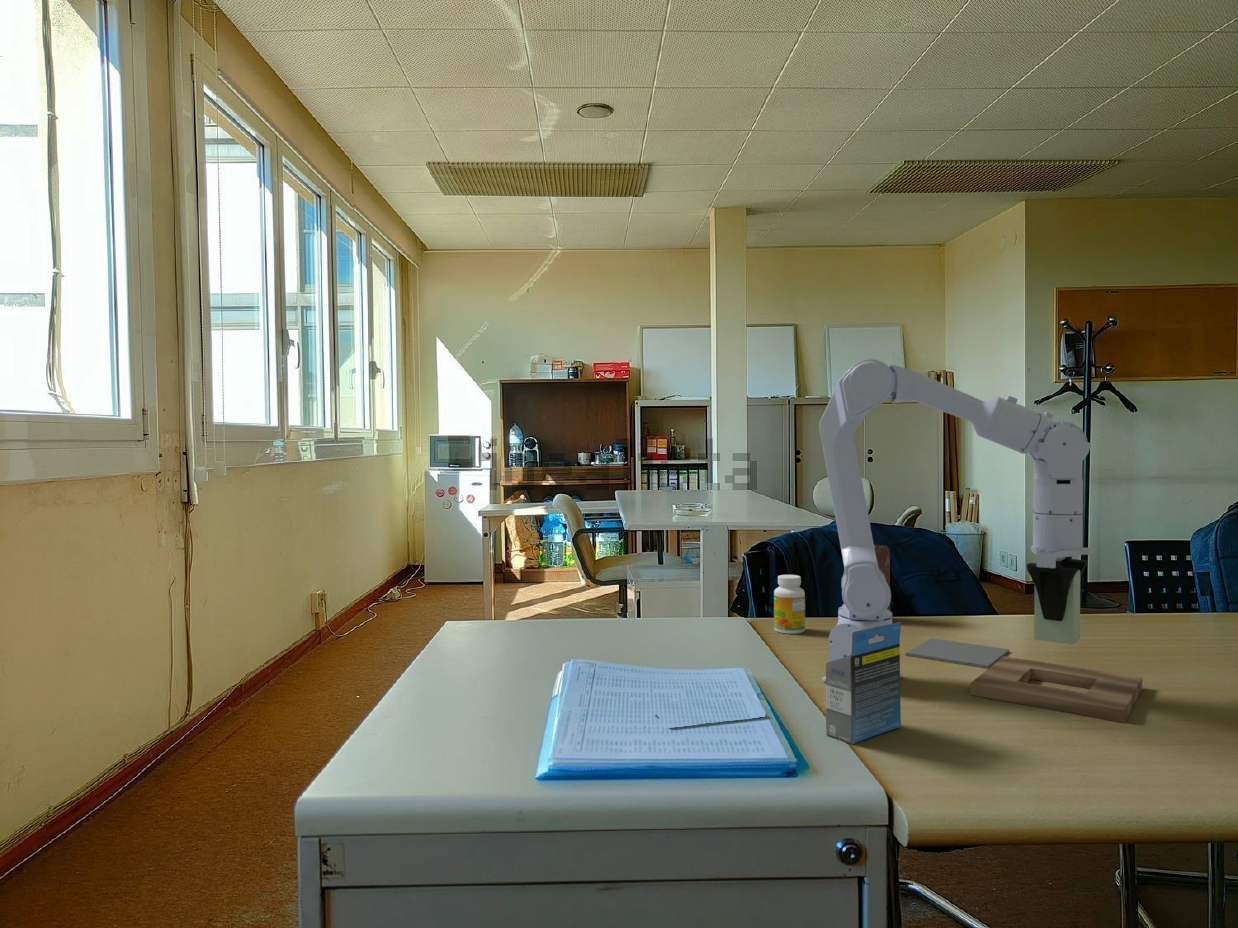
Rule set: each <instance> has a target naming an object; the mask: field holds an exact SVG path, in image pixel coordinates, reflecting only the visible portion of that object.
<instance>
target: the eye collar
mask: <svg viewBox="0 0 1238 928" xmlns="http://www.w3.org/2000/svg"><path fill="white" fill-rule="evenodd" d="M1030 680H1035V681H1039V682H1045V683H1046V682H1048V683H1053V684H1059V685H1065V686H1072V687H1076V688H1077V687H1079V688H1084V689H1088V691H1087V692H1082V691H1077V690H1068V689H1063V688H1057V687H1052V686H1051V687H1050V686H1047V685H1046V686H1045V685H1040V684H1034V683H1033V684H1032V683H1028V682H1029V681H1030ZM969 688H970V689H969V693H970V694H969V695H970V696H976V697H982V698H987V699H993V700H998V701H1004V702H1009V703H1015V704H1021V705H1026V706H1031V707H1036V708H1041V709H1046V710H1051V711H1052V710H1053V711H1058V712H1064V713H1069V714H1074V715H1079V716H1080V715H1081V716H1085V717H1091V718H1096V719H1101V720H1106V721H1113V722H1118V723H1123V724H1124V723H1126V721H1127V719H1128V717H1129V715H1130V714H1131V713H1130V712H1131V711H1132V709H1133V707H1134V705H1135V703H1136V701H1137V699H1138V698H1139V695H1140V694H1141V691H1142V690H1143V676H1138V675H1133V674H1131V675H1130V674H1127V673H1126V674H1124V673H1118V672H1112V671H1105V670H1100V669H1099V670H1096V669H1091V668H1084V667H1078V666H1071V665H1064V664H1058V663H1052V662H1051V663H1050V662H1045V661H1037V660H1033V659H1031V660H1030V659H1025V658H1024V659H1023V658H1018V657H1012V656H1006V655H1005V656H1003V657H1002V658H1001V659H1000V660H998V661H997V662H996V663H995V664H993V665H992V666H991V667H990V668H986V670H985V671H984V672H982V673H981V674H980V675H979V676H977V677H976V678H974V680H972V681H970V683H969Z"/></svg>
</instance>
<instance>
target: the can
mask: <svg viewBox="0 0 1238 928" xmlns="http://www.w3.org/2000/svg"><path fill="white" fill-rule="evenodd" d="M874 548H875V553H876V558H877V562H878V568H879V569H880V570H881V571H882V573H883V574H884V576H885V578H886V582H887V584H888V585H889V588H890V589H891V571H890V570H891V558H890V557H891V550H890V549H889V546H887V545H881V544H874ZM887 610H889V611H891V603H890V604H889V606H888V608H887Z"/></svg>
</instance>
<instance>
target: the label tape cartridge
mask: <svg viewBox="0 0 1238 928" xmlns="http://www.w3.org/2000/svg"><path fill="white" fill-rule="evenodd" d="M901 627H902V623H901V621H897V622H894V623H893V622H892V624H889V625H884V626H879V627H875V628H870V629H866V630H861V631H856V632H853V633H852V654H851V655H849V656H846V657H843V658H839V659H836V660H833V661H829V660H828V661H826V662H825V676H826V682H825V735H826V736H828V737H830V738H832V739H835V738H837V739H836V740H838V739H840V740H841V742H844V743H847V744H849V745H855V744H857V743H860V742H862V741H865V740H867V739H870V738H872V737H875V736H878V735H882V734H884V733H887V732H891V731H893V730H896V729H898V728H902V725H901V724H902V718H901V717H902V715H901V709H902V708H901V678H900V672H901V657H900V656H901V651H900V650H901V648H900V643H901V642H900V639H901ZM876 634H877V635H878V636H884V640H883V641H880V642H876V643H872V644H869V643H868V641H869V639H871V638H874V637H875V636H876ZM840 740H839V741H840Z"/></svg>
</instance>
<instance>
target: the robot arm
mask: <svg viewBox="0 0 1238 928" xmlns="http://www.w3.org/2000/svg"><path fill="white" fill-rule="evenodd" d="M890 396H891V401H890V402H891V404H899V403H909V402H916V403H919V404H920V405H921V404H922V405H924V406H927V407H930V408H932V409H934V410H938V411H940V412H943V413H946V414H948V415H951V416H954V417H956V418H960V419H962V420H964V421H968V422H970V423H971V424H972V425H973V428H974V431H975V433H976V434H977V436H978V437H980V438H983V439H986V440H988V441H990V442H993V443H995V444H998V445H1000V446H1003V447H1004V448H1007V449H1011V450H1013V451H1015V452H1018V453H1020V454H1022V455H1026V454H1028V455H1029V456H1030V457H1031V459H1032V460H1033V476H1034V477H1033V478H1032V494H1033V495H1032V545H1030V548H1031V549H1030V551H1031V552H1032V553H1033V554H1034V555H1036V562H1029V563H1027V564H1026V570H1027V572H1028V574H1029V575H1030V578H1031V579H1032V582H1033V583H1034V588H1035V587H1036V589H1037V593H1038V597H1039V601H1040V606H1041V610H1042V614H1043V617H1044V619H1047V620H1055V621H1062V620H1063V618H1064V614H1065V610H1066V604H1067V597H1068V592H1069V589H1070V586H1071V583H1072V580H1073V578H1074V576H1075V574H1076V573H1077V571H1078V570H1080V578H1081V577H1082V574H1083V572H1084V571H1085V569H1086V567H1087V566H1088V561H1087V559H1086V560H1085V559H1076V558H1075V559H1074V557H1078V556H1082V555H1086V556H1087V555H1093V554H1094V548H1092V547H1083V546H1084V542H1083V541H1084V537H1083V536H1084V533H1083V530H1084V526H1083V525H1084V522H1083V521H1084V519H1083V517H1084V515H1083V513H1084V509H1083V508H1084V502H1083V501H1084V499H1083V498H1084V497H1083V496H1084V495H1083V493H1084V480H1083V461H1084V460H1085V458H1086V457H1087V456H1088V455H1089V452H1090V449H1091V443H1090V442H1089V441H1088V438H1087V436H1086V433H1085V432H1084V431H1083V430H1082V428H1081V427H1080V426H1079V425H1077V424H1075V423H1073V422H1070V421H1069V422H1068V421H1054V420H1053V418H1054V414H1053V413H1051V412H1048V411H1045V412H1043V413H1041V412H1038V411H1037V410H1034V409H1031V408H1028V407H1026V406H1024V405H1021V404H1018V403H1017V402H1018V398H1016V397H1013V396H1011V395H1007V396H1006V397H1004V398H1003V397H1000V396H999V395H997V396H993V397H990V398H989V399H986V400H981V399H979V398H977V397H974V396H972V395H970V394H968V393H966V392H963V391H961V390H958V389H956V388H954V387H953V386H950V385H947V384H945V383H942V382H940V381H938V380H936V379H933V378H931V377H930V376H926V375H924V374H922V373H919V372H917V371H914V370H911V369H909V368H906V367H903V366H900V365H896V364H890V365H889V366H888V365H887V364H886V363H885V362H883V361H882V360H878V359H874V358H866V359H861V360H859V361H858V362H856V363H854V364H853V365H852V366H851V367H850V368H849V369H848V370H847V371H846V372H845V373H844V374H843V375H842V377H841V378H839V379H838V382H837V384H836V386H835V388H834V390H833V393H832V396H831V397H830V399H829V401H828V404H827V405H826V407H825V410H824V412H823V414H822V416H821V419H820V420H819V424H818V429H819V435H820V436H819V437H820V440H821V446H822V451H823V458H824V463H825V469H826V474H827V478H828V483H829V490H830V495H831V501H832V506H833V512H834V516H835V524H836V528H837V533H838V534H837V535H838V539H839V546H840V550H841V556H842V563H843V569H844V570H843V575H842V576H841V582H840V584H841V585H840V586H841V597H842V601H843V604H842V605H841V606H840V607H838V611H837V613H838V614H837V615H838V616H837V619H838V620H837V624H836V625H835V626H834V627H833V628H832V630H831V631H830V633H829V635H828V662H829V661H833V660H836V659H839V658H843V657H846V656H849V655H851V654H852V633H853V632H856V631H861V630H866V629H870V628H875V627H879V626H884V625H889V624H893V612H892V611H891V610H890V611H889V610H887V608H888V606H889V604H890V605H891V599H892V593H891V587H890V588H889V585H888V584H887V582H886V578H885V576H884V574H883V573H882V571H881V570H880V569H879V568H878V562H877V558H876V553H875V548H874V545H875V544H874V539H873V538H874V537H873V533H872V529H871V522H870V516H869V512H868V507H867V506H868V505H867V501H866V495H865V491H864V490H865V489H864V485H863V479H862V474H861V468H860V462H859V457H858V452H857V448H856V447H857V445H856V441H855V436H854V434H855V431H857V430H858V428H859V427H860V425H861V424H862V423H863V421H864V420H865V418H866V417H867V415H868V414H870V413H871V412H872V411H874V410H876V409H877V408H878V407H880V406H881V405H882V404H883V403H884V402H886V401H887V400H888V399H889V397H890ZM883 640H884V636H878V635H877V634H876V636H875V637H874V638H871V639H869V641H868V643H869V644H872V643H876V642H880V641H883ZM903 676H904V673H903V672H901V671H900V679H901V678H902V677H903ZM821 678H822V679H821V680H822V682H825V683H826V675H824V676H823V677H821Z"/></svg>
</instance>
